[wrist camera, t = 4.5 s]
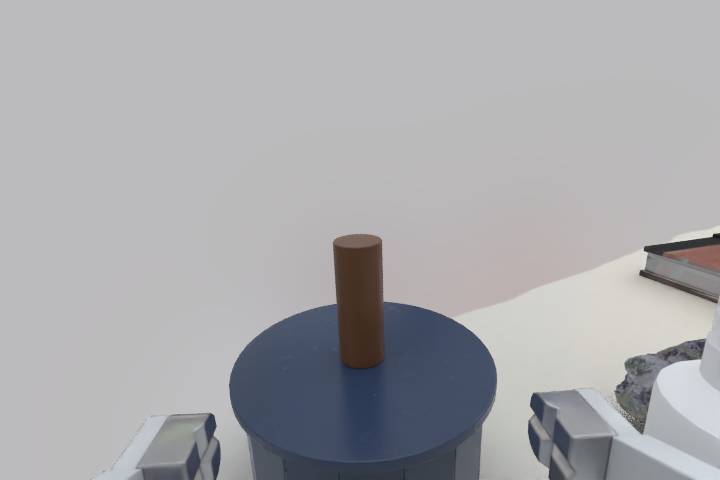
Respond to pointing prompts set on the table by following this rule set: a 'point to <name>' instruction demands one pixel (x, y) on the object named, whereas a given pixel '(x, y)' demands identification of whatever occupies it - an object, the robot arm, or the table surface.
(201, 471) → the robot arm
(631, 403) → the mineral rock
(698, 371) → the spray bottle
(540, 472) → the table surface
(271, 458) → the pot
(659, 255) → the book
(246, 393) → the lid
